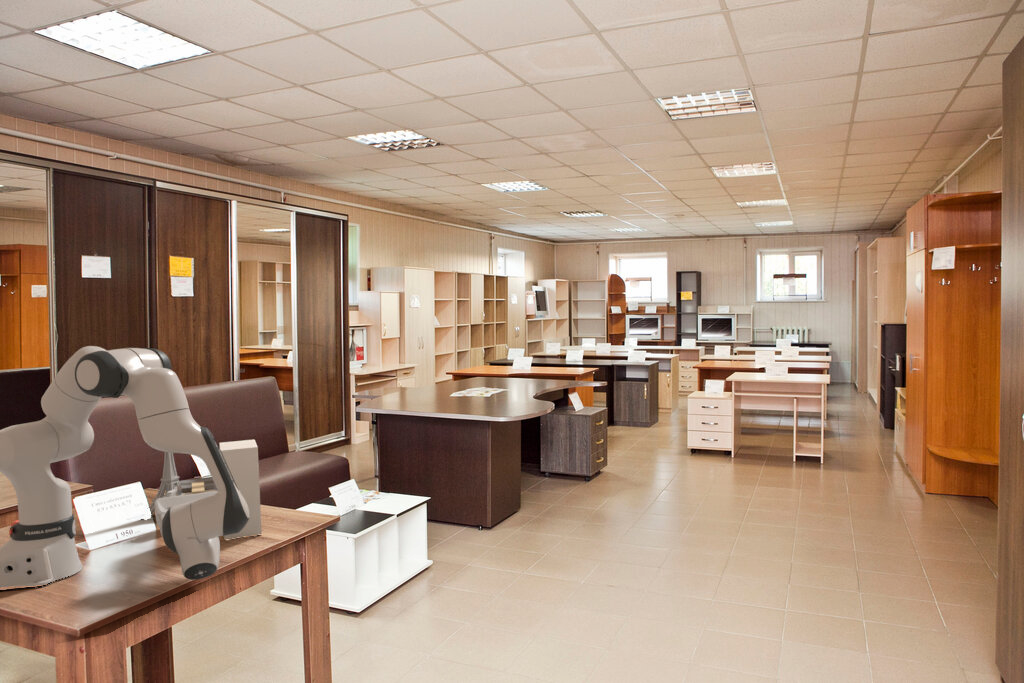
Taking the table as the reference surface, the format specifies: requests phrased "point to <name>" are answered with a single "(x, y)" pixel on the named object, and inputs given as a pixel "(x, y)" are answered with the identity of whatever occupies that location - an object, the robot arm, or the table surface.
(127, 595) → the table surface
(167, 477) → the eiffel tower
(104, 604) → the table surface
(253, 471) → the tall stand
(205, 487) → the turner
